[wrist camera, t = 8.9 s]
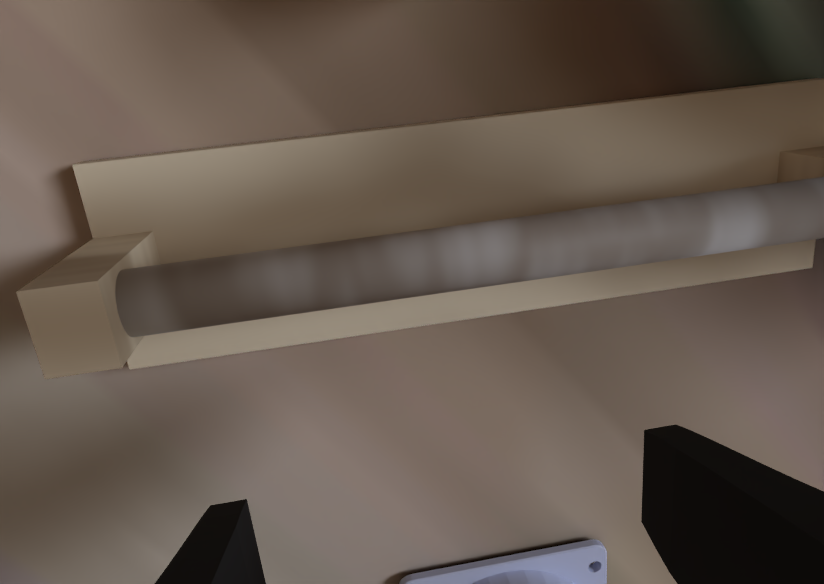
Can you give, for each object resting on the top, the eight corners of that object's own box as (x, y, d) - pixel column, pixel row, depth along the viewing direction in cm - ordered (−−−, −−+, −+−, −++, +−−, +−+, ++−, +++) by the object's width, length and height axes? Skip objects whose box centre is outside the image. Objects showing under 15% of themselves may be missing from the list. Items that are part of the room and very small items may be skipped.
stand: (794, 261, 21) (944, 317, 16) (137, 358, 19) (71, 458, 14) (815, 78, 19) (993, 76, 14) (83, 161, 17) (-17, 194, 12)
